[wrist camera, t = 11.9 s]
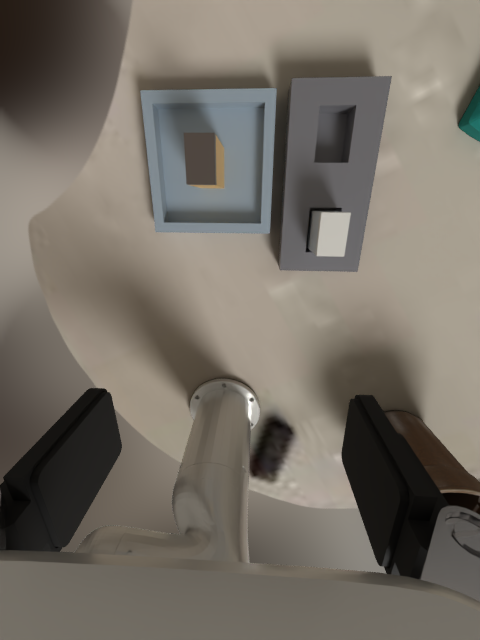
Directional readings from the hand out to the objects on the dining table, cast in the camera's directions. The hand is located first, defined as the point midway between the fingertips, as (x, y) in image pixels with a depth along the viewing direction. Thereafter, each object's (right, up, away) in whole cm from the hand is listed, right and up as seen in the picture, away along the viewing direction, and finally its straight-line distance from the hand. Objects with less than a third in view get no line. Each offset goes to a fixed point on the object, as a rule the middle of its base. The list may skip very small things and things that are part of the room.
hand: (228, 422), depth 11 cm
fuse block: (+11, +21, +25) cm, 34 cm away
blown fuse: (-3, +23, +24) cm, 33 cm away
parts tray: (-3, +23, +25) cm, 34 cm away
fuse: (+11, +16, +26) cm, 33 cm away
